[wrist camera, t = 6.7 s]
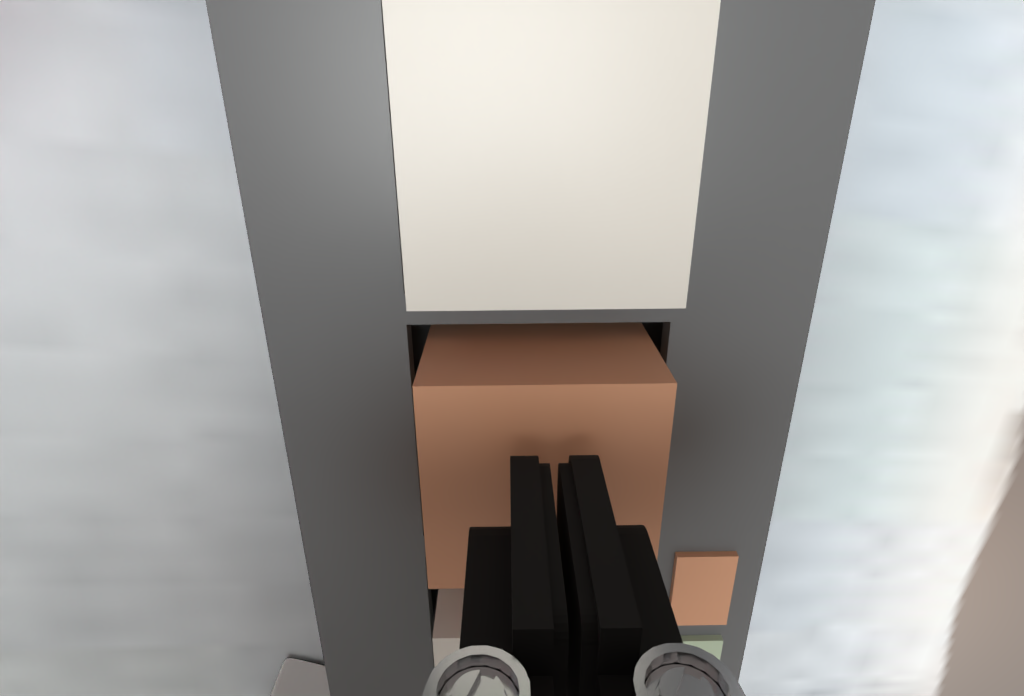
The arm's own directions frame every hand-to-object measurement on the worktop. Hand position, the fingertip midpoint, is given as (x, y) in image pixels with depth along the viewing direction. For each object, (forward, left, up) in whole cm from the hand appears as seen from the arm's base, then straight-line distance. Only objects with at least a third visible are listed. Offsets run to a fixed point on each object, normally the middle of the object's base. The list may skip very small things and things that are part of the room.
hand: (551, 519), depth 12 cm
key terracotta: (0, 0, -5) cm, 5 cm away
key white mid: (+6, 0, -5) cm, 8 cm away
